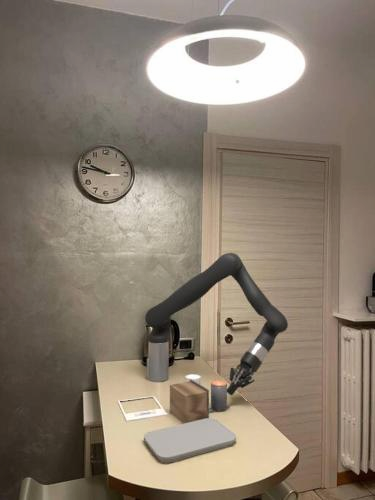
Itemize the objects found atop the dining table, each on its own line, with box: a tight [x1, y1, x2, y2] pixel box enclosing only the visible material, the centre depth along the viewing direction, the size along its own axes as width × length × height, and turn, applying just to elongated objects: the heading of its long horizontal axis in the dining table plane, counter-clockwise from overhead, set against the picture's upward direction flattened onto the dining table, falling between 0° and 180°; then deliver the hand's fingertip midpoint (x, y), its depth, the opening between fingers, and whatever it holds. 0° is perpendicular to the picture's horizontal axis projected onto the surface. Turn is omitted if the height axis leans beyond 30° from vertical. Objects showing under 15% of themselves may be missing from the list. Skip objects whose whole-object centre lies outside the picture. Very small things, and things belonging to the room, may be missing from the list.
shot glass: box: [184, 373, 202, 385], centre depth 153 cm, size 7×7×7 cm
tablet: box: [143, 417, 237, 464], centre depth 114 cm, size 16×26×2 cm, turn 117°
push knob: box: [210, 378, 228, 411], centre depth 138 cm, size 6×6×9 cm
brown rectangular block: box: [169, 379, 231, 424], centre depth 135 cm, size 21×12×11 cm, turn 119°
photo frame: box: [117, 395, 168, 423], centre depth 138 cm, size 15×1×18 cm
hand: (229, 393), depth 141 cm, fingers closed
